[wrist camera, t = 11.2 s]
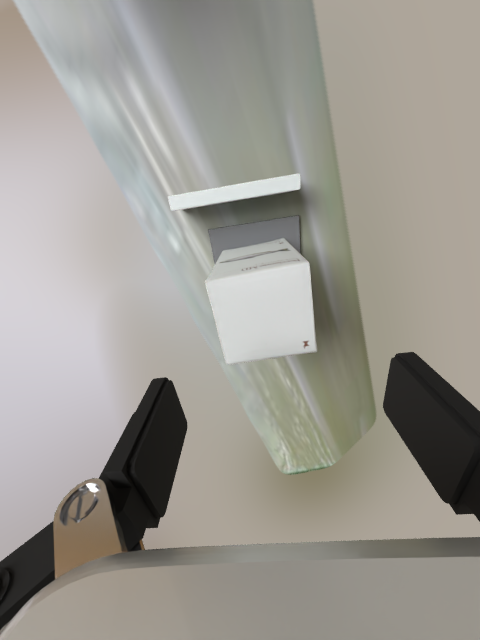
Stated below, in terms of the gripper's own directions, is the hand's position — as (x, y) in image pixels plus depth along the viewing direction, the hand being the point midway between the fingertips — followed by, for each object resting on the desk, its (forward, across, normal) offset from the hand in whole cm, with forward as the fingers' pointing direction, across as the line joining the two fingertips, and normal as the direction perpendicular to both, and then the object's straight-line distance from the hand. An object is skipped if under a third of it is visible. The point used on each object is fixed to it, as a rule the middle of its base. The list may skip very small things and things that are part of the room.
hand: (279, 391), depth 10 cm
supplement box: (+20, 0, 0) cm, 20 cm away
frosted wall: (+20, +2, -8) cm, 22 cm away
